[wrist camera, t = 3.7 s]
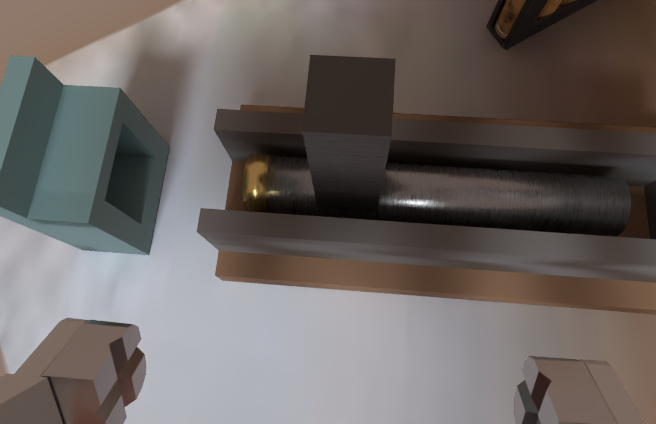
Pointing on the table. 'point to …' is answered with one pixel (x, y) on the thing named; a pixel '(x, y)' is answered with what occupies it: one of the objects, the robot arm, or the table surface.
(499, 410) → the table surface
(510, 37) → the ammunition clip
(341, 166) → the tube
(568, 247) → the channel tray
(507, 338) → the table surface
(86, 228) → the socket block
